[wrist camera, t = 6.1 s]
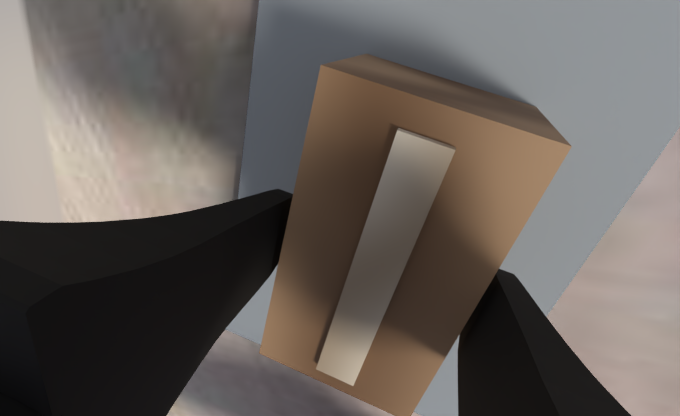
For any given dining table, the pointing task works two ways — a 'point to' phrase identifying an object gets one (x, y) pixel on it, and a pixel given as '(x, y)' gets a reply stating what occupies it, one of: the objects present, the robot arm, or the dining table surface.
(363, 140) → the taped cardboard box
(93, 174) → the dining table surface
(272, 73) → the rubber mat
